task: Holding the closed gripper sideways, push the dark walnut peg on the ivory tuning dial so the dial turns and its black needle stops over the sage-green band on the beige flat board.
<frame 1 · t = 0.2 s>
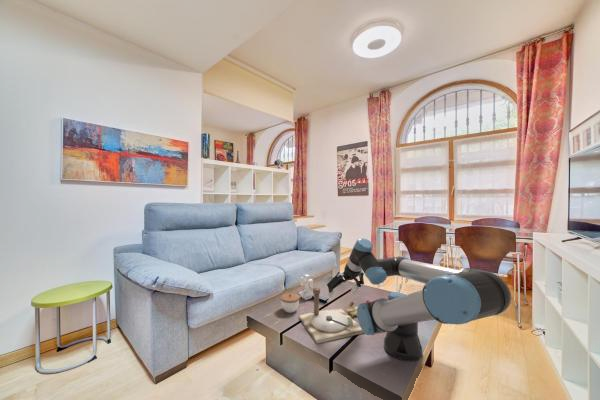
hand: (341, 293, 125), 15 cm above the table, tool tilted 35°, fingers open, 13 cm apart
beige flat board: (329, 325, 122), on the table
lidded jar: (290, 310, 138), on the table
tuning dial: (330, 307, 122), point 9 cm above the table, hinge at 0.0°
figurine: (306, 298, 155), on the table
cat figure: (368, 312, 136), on the table
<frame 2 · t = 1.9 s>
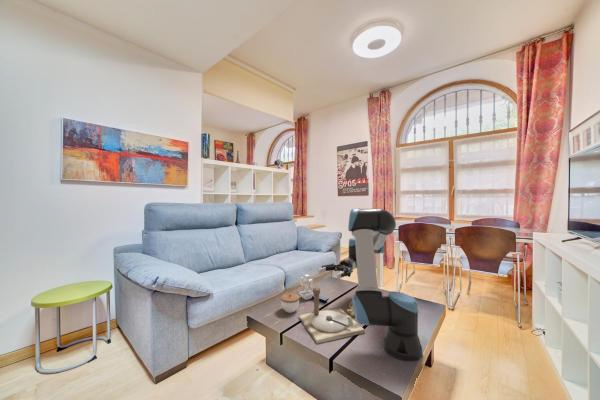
hand: (327, 274, 133), 22 cm above the table, tool horizontal, fingers open, 12 cm apart
nothing on the table moved.
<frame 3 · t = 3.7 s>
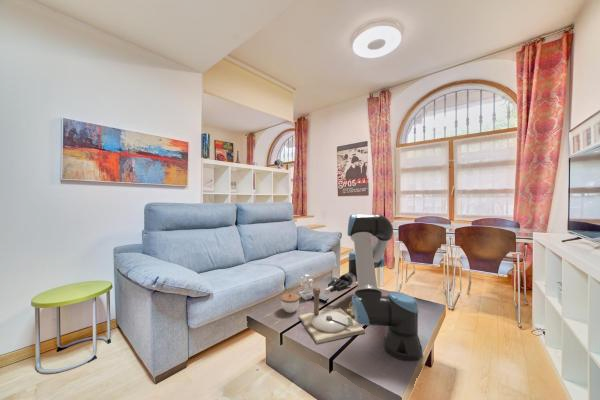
hand: (325, 291, 133), 13 cm above the table, tool horizontal, fingers closed
nothing on the table moved.
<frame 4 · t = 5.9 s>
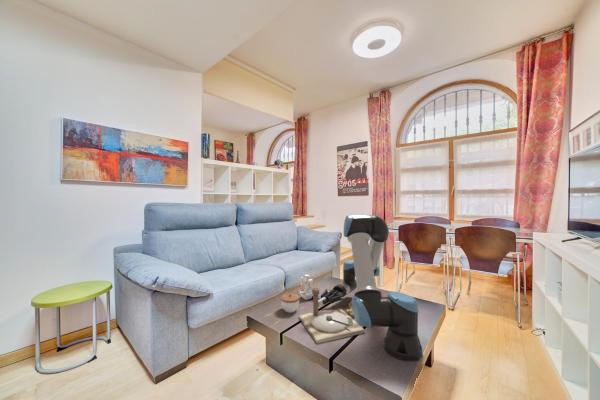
hand: (317, 303, 128), 8 cm above the table, tool horizontal, fingers closed
tuning dial: (330, 307, 122), point 9 cm above the table, hinge at 5.7°, touching gripper
everything else where it was.
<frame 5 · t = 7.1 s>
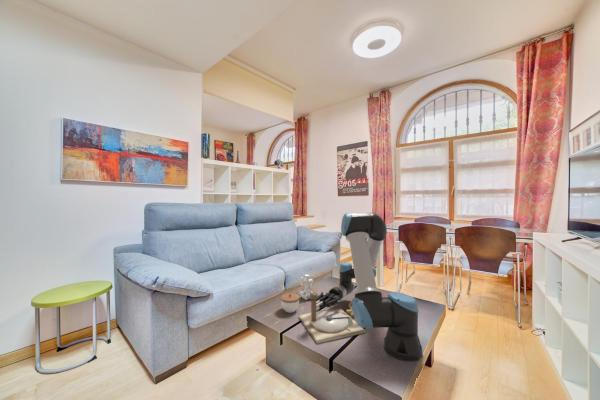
hand: (313, 307, 123), 8 cm above the table, tool horizontal, fingers closed
tuning dial: (330, 307, 122), point 9 cm above the table, hinge at 48.3°, touching gripper
everything else where it was.
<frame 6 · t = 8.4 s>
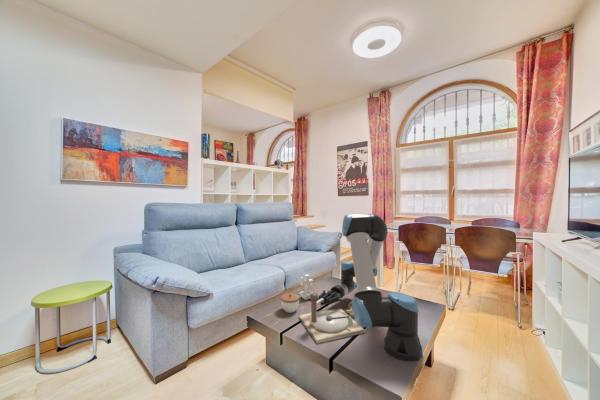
hand: (315, 305, 125), 9 cm above the table, tool horizontal, fingers closed
tuning dial: (330, 307, 122), point 9 cm above the table, hinge at 52.0°
everything else where it was.
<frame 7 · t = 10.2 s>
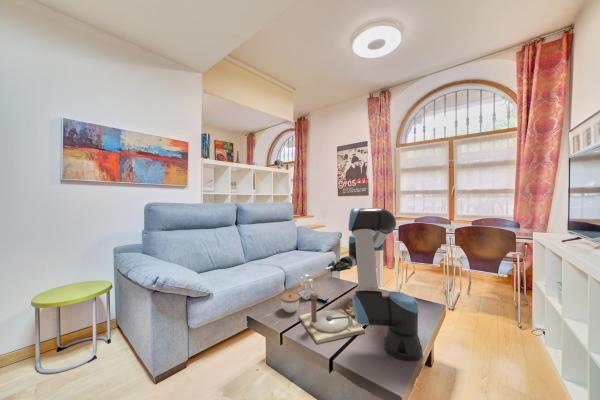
hand: (326, 271, 132), 24 cm above the table, tool horizontal, fingers closed
nothing on the table moved.
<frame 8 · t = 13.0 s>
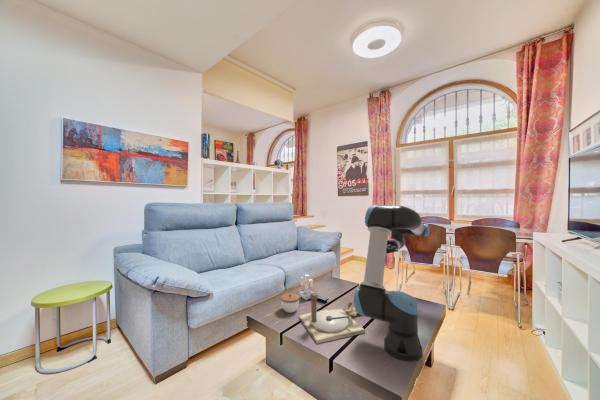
hand: (376, 252, 130), 35 cm above the table, tool horizontal, fingers closed
at the end: tuning dial at +52° (first picture: +0°); lidded jar moved 0.2 cm from its start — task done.
